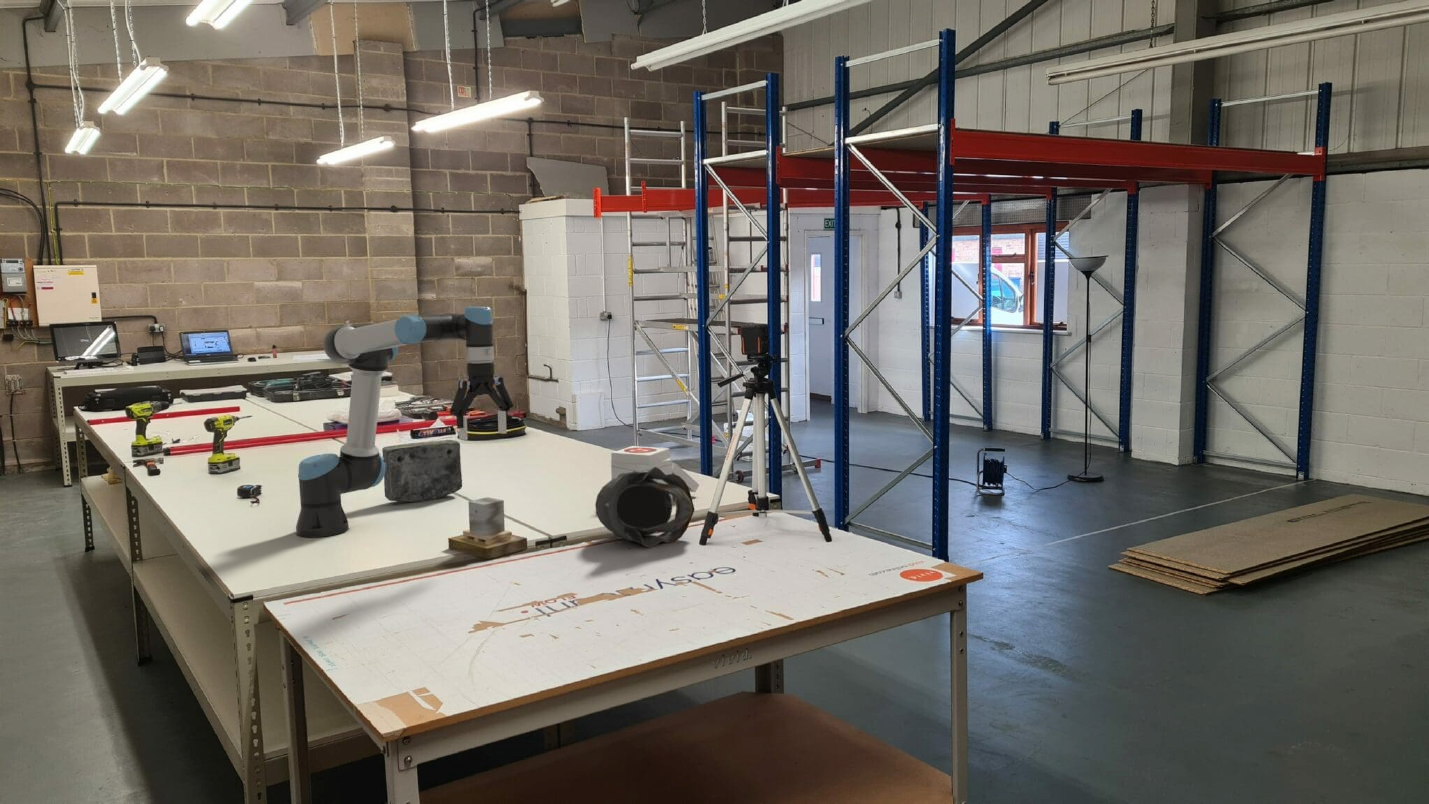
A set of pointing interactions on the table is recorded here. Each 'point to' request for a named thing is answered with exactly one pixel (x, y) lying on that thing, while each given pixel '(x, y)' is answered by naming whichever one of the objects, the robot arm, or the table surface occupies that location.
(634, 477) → the helmet
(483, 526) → the block
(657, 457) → the pizza boxes
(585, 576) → the table surface
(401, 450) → the concrete block
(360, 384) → the robot arm
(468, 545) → the dock
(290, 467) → the table surface
